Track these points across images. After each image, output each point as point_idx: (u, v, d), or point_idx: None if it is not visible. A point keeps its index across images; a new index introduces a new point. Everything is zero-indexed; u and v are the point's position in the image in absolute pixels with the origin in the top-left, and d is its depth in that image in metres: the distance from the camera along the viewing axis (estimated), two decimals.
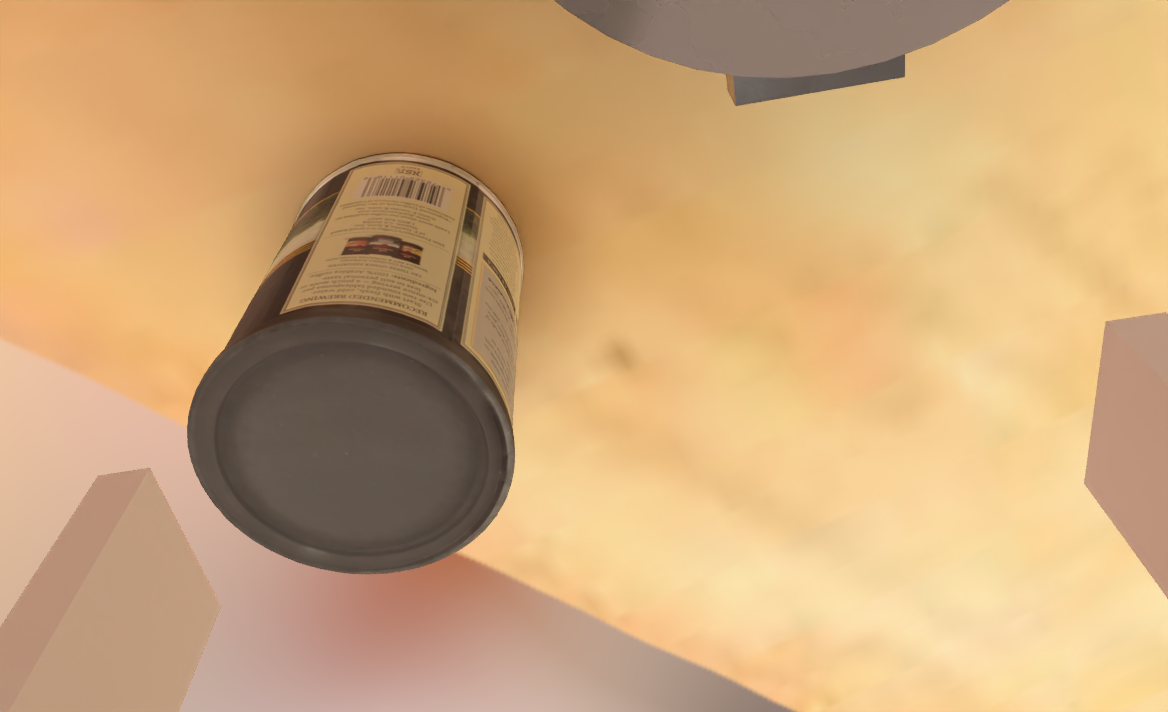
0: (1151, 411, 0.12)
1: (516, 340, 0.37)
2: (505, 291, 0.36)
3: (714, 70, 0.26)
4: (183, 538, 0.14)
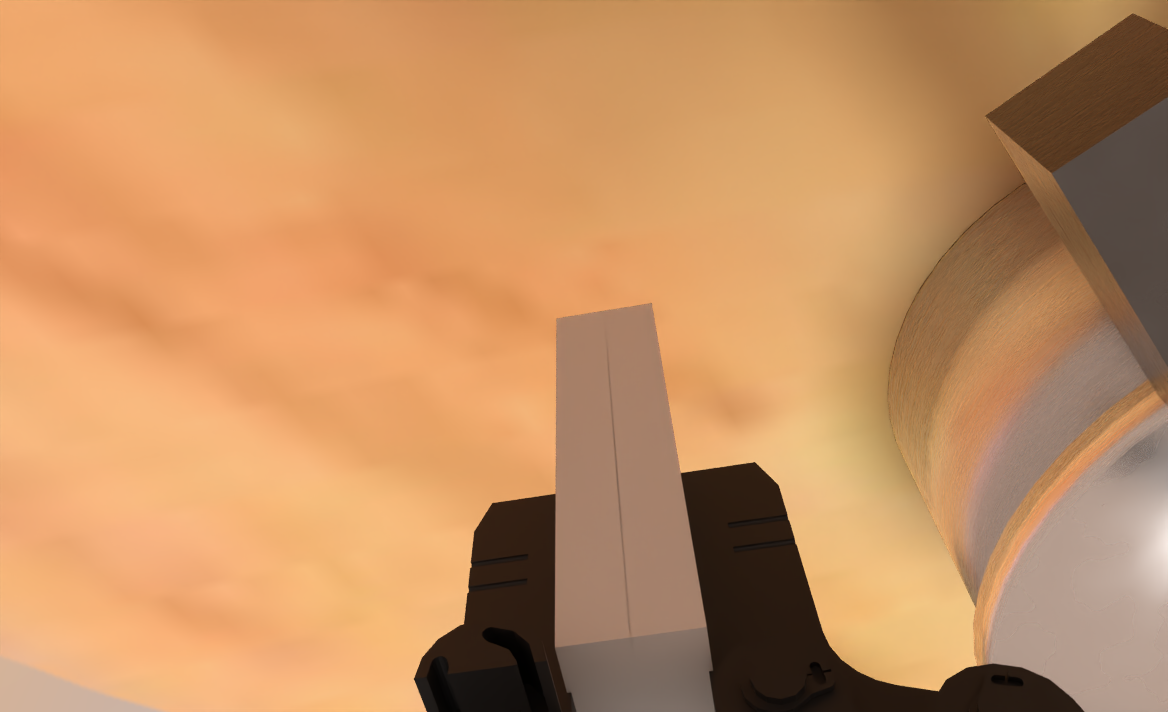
0: None
1: None
2: None
3: None
4: None
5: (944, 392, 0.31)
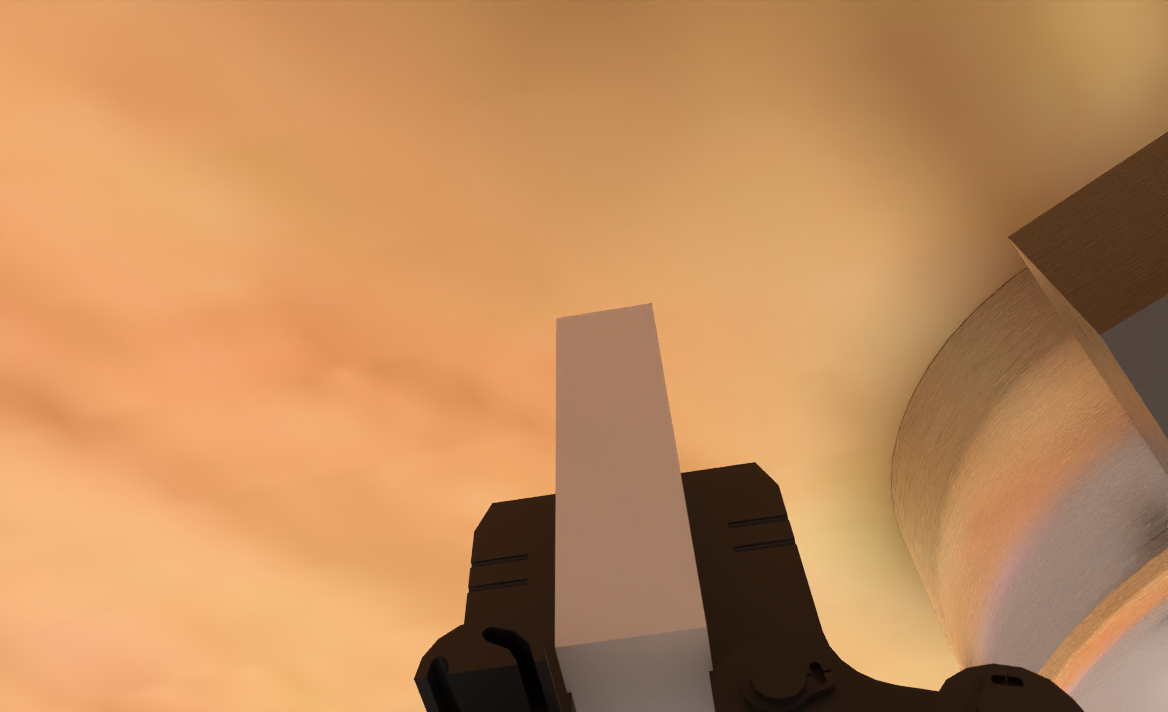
0: None
1: None
2: None
3: None
4: None
5: (955, 497, 0.27)
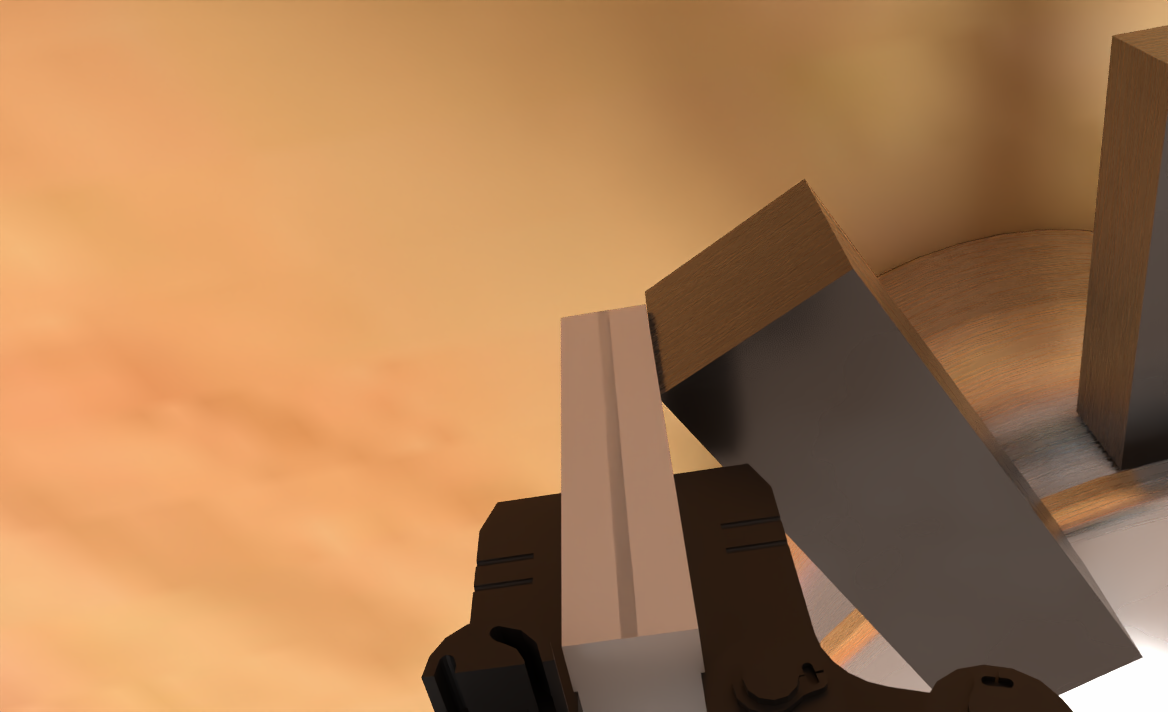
0: None
1: None
2: None
3: None
4: None
5: None
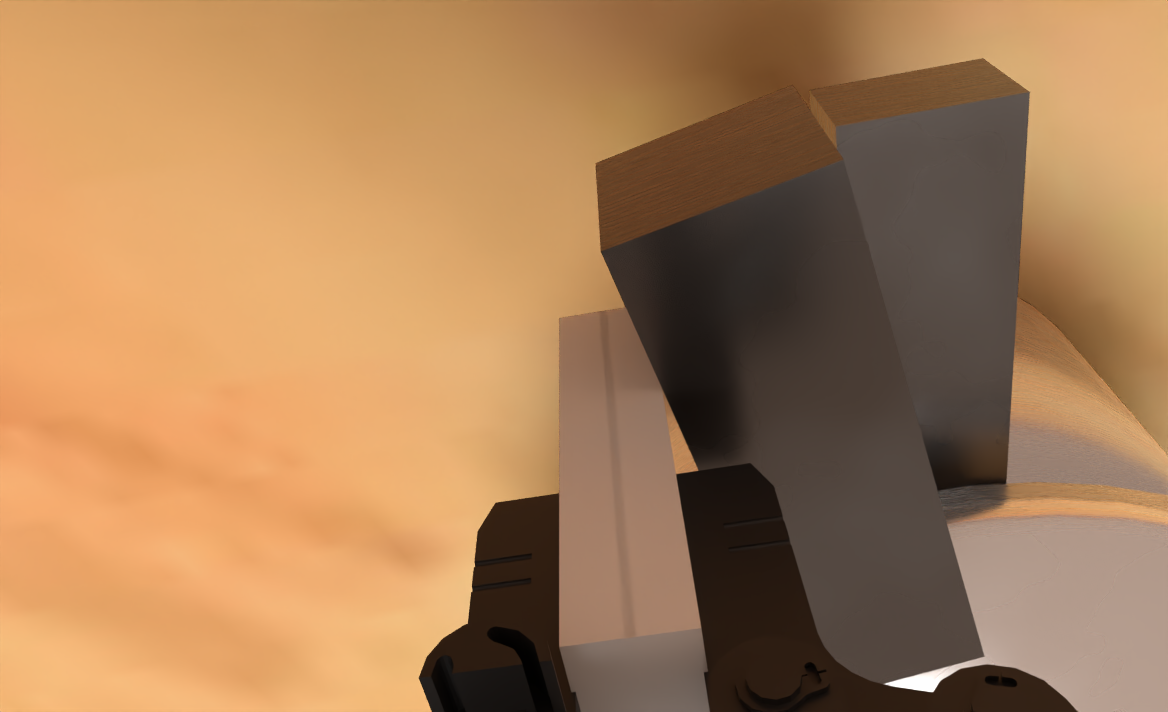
0: None
1: None
2: None
3: None
4: None
5: None
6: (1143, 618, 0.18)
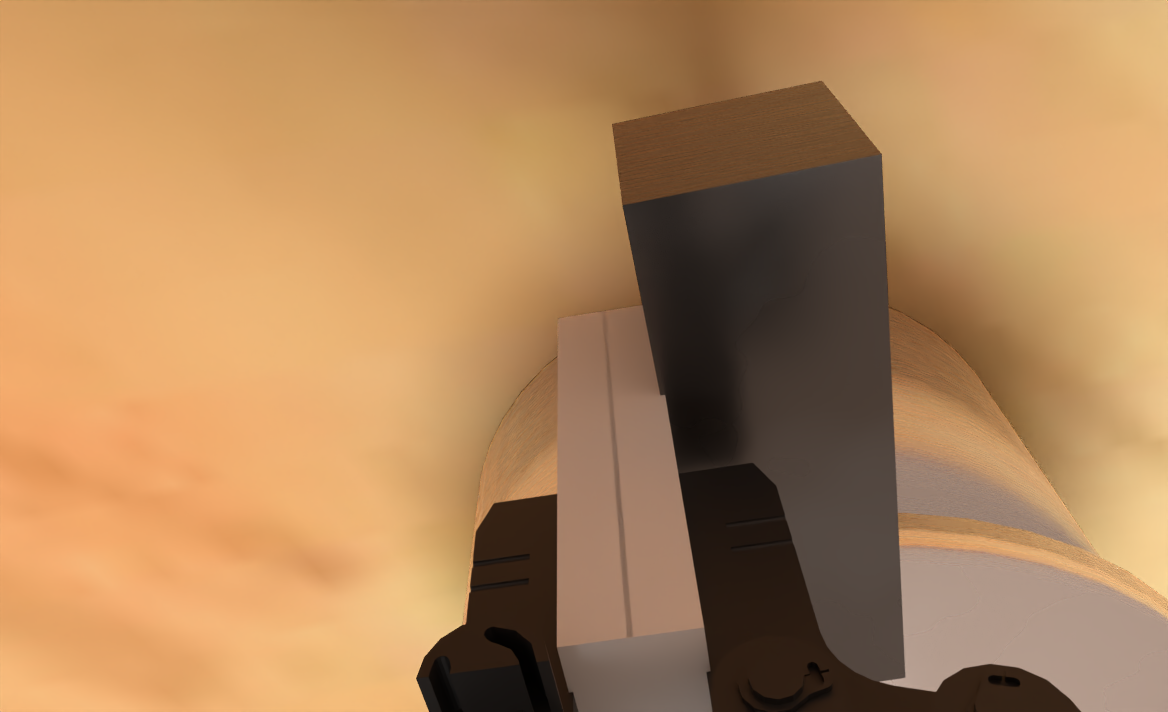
0: None
1: None
2: None
3: None
4: None
5: (468, 578, 0.28)
6: (1044, 663, 0.19)
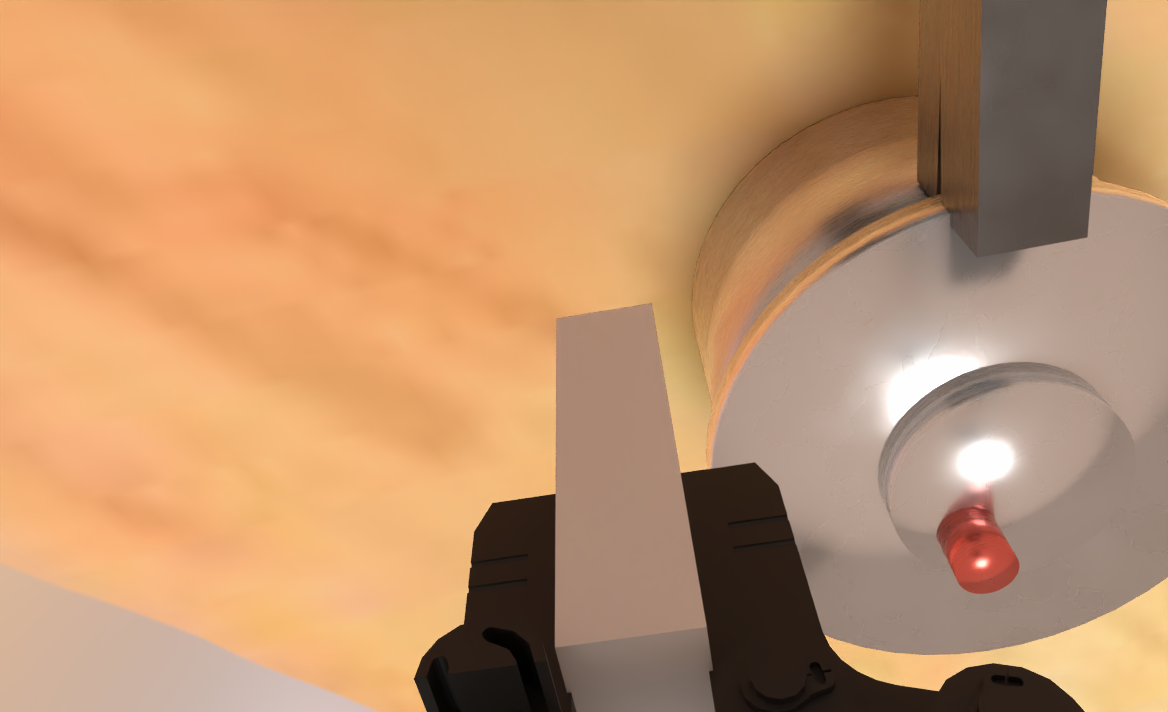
0: None
1: None
2: None
3: None
4: None
5: (711, 307, 0.39)
6: (1154, 275, 0.30)
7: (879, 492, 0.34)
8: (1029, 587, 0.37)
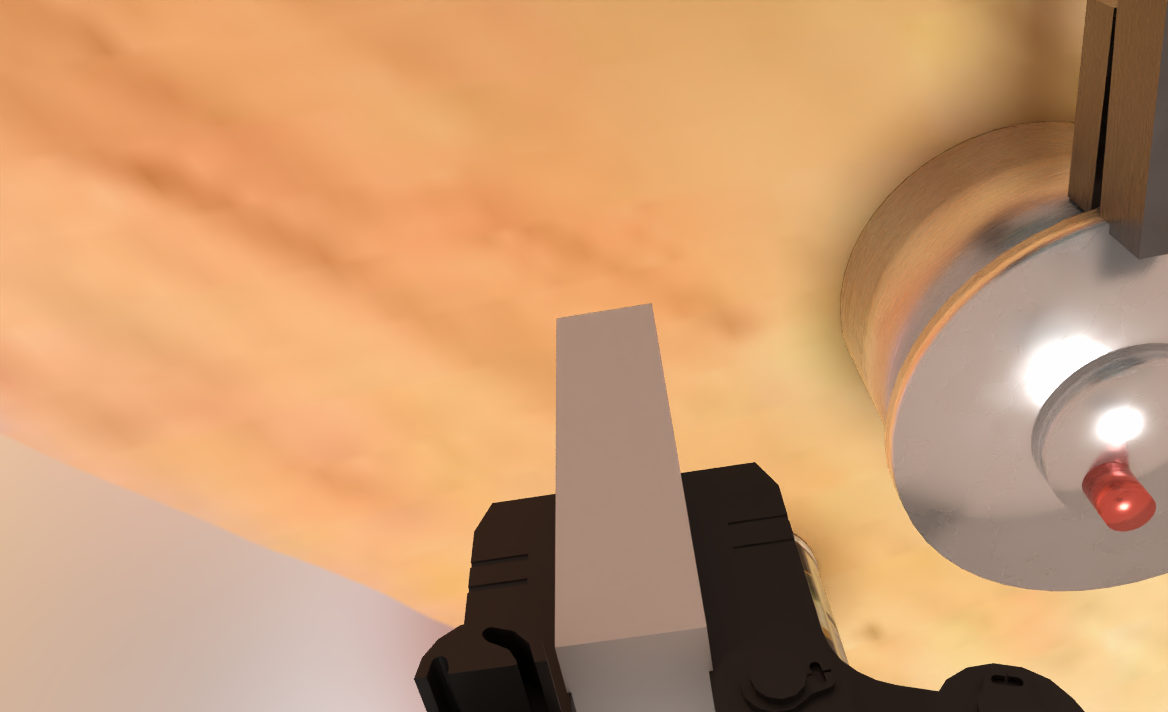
0: None
1: None
2: None
3: (950, 560, 0.45)
4: None
5: (872, 300, 0.47)
6: None
7: (1031, 451, 0.41)
8: (1147, 532, 0.44)
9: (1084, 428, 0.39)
